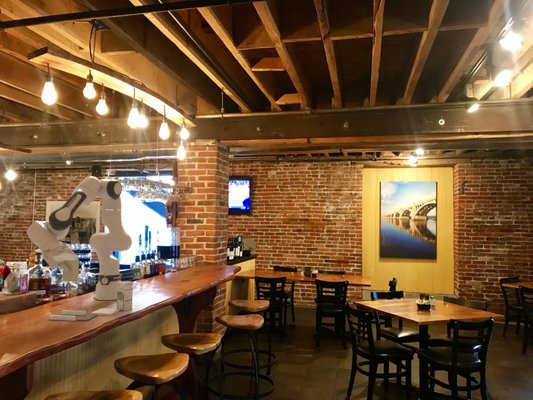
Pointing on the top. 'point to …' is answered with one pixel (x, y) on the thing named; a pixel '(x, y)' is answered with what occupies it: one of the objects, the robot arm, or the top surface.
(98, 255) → the robot arm
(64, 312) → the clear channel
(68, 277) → the sage block
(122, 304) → the syrup box
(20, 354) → the top surface
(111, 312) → the coaster board
